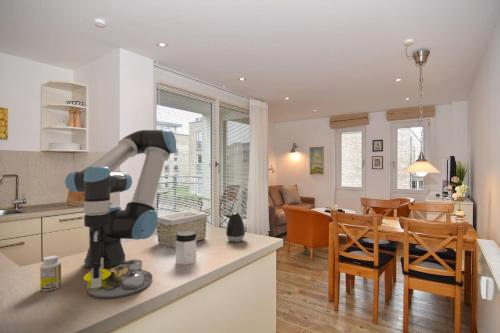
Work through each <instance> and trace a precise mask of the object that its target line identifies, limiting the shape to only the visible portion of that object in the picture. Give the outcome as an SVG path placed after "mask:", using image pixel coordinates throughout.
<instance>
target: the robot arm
mask: <svg viewBox="0 0 500 333" xmlns="http://www.w3.org/2000/svg"><path fill="white" fill-rule="evenodd" d="M176 151H177V139H176V136H175V134H174V132H173V131H172V130H171V129H163V128H162V129H141V130H136V131H134V132H132V133H130V134H128V135H127V136H124V137H123V138H121V139H120V140H119V141H118V144H117V145H116V146H114V147H113V148H112V149H110V150H109V151H107V152H106V153H105V154H103V155H102V156H101V157H99V158H98V159H96V160H95V161H93V162H92V163H91V164H90V165H88V166H87V167H85V168H84V169H83V170H81V171H72V172H70V173H68V174H67V175H66V177H65V180H64V184H65V187H66V189H67V190H69V192H77V193H84V198H83V199H84V200H83V213H84V216H83V219H84V220H83V221H84V222H83V223H84V224H83V225H84V227H87V228H88V232H89V233H88V237H89V241H88V242H89V245H88V246H89V247H88V249H87V253H86V257H85V258H84V264H83V265H84V268H86V269H90V271H91V289H92V288H98V287H101V269H108V268H112V267H116V266H117V267H118V266H120V265H122V263H123V262H125V261H126V253H125V250H124V248H123V246H122V240H123V239H127V240H146V239H149V238H150V237H151V236H152V235H153V234H154V233H155V232H156V230H157V223H158V220H157V219H158V216H157V215H158V214H157V212H156V211H155V210H156V208H155V206H154V201H155V197H156V195H157V194H156V193H157V191H158V186H159V183H160V179H161V175H162V171H163V168H164V164H165V161H168V160H169V158H170V155H171V154H174V153H176ZM140 154H141V155H142V154H144V155H145V160H144V162H143V165H142V168H141V171H140V175H139V177H138V182H137V184H136V187H135V190H134V193H133V195H132V200H131V201H129V202H127V203H126V206H125V208H124V209H122V208H121V206H120V205H113V202H112V201H111V194H113V193H123V192H125V191H128V190H129V189H131V187H132V184H133V179H132V176H131V174H130V173H128V172H126V171H116V170H117V169H118V168H119V167H120V166H122V164H124V163H125V162H126V161H127V160H128V159H130V158H133V157H136V156H137V155H140ZM112 205H113V206H112Z"/></svg>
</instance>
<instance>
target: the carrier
mask: <svg viewBox="0 0 500 333" xmlns="http://www.w3.org/2000/svg"><path fill="white" fill-rule="evenodd" d="M110 272H111V275H110V276H109V277H108V282H107V283H106V284H105V285H102V286H101V287H98V288H92V289H91V287H88V286H87V285H86V293H87V295H88V296H89V297H91V298H93V299H99V300H113V299H114V300H115V299H119V298H121V299H122V298H125V297H129V296H132V295H135V294H138V293H140V292H143V291H144V290H146V289H147V288H148V287H149V286H151V285H152V283H153V274H152V273H151V272H150V271H149V270H145V269H143V261H142V259H130V260H125V261H124V262H123V263H121V264H120V265H118V266H117V267H115V268H113V271H110Z"/></svg>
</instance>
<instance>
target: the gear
mask: <svg viewBox="0 0 500 333" xmlns="http://www.w3.org/2000/svg"><path fill="white" fill-rule="evenodd" d="M111 272H112V271H110V270H108V269H107V268H104V269H101V286H102V285H105V284H106V283H107V282H108V277H109V276H110V275H111ZM83 279H84V280H85V281H86V287H87V286H88V287H91V270H90V271H89V272H88V273H86V274H85V275H84V276H83Z"/></svg>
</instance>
